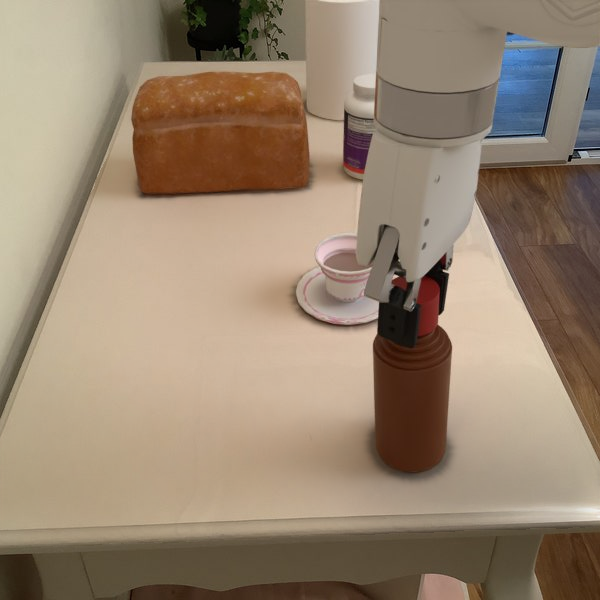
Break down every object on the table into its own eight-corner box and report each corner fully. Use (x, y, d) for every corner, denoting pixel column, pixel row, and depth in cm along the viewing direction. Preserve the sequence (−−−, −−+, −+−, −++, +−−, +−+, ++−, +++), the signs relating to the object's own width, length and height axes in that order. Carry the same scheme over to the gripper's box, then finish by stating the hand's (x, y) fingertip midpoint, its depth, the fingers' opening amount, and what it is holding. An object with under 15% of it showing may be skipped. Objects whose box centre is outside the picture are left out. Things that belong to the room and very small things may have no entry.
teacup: (385, 334, 74) (389, 290, 71) (282, 316, 77) (280, 272, 74) (404, 274, 83) (408, 231, 80) (311, 259, 86) (311, 218, 83)
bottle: (453, 429, 63) (464, 280, 53) (435, 480, 58) (443, 328, 48) (388, 412, 65) (386, 266, 55) (365, 460, 61) (359, 311, 51)
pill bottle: (360, 155, 110) (363, 67, 101) (403, 167, 106) (410, 77, 97) (332, 174, 105) (333, 83, 96) (377, 188, 101) (382, 94, 92)
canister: (336, 87, 134) (338, -21, 122) (392, 103, 127) (400, -10, 115) (291, 108, 126) (288, -6, 114) (349, 126, 119) (352, 7, 107)
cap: (422, 343, 51) (422, 310, 49) (377, 326, 53) (376, 294, 51) (447, 315, 54) (449, 283, 52) (403, 300, 56) (403, 268, 54)
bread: (147, 158, 110) (131, 62, 101) (306, 152, 111) (305, 56, 102) (136, 200, 100) (116, 97, 90) (312, 192, 100) (311, 89, 91)
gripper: (437, 54, 49) (416, 260, 61) (310, 134, 39) (313, 366, 50) (538, 72, 46) (495, 287, 57) (429, 166, 35) (403, 407, 46)
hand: (411, 322), depth 53 cm, fingers closed on cap, 4 cm apart
